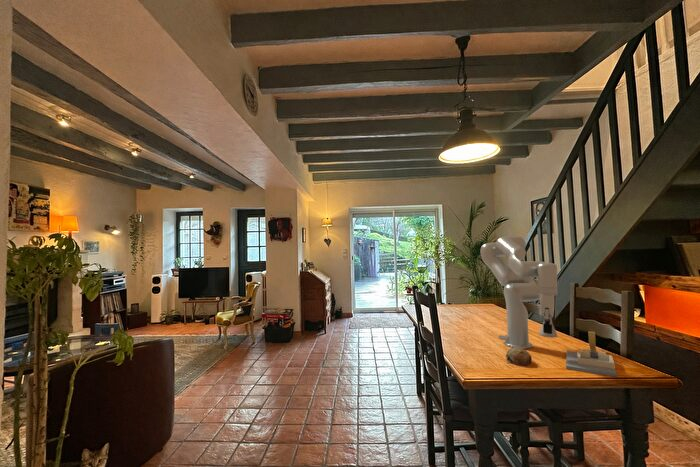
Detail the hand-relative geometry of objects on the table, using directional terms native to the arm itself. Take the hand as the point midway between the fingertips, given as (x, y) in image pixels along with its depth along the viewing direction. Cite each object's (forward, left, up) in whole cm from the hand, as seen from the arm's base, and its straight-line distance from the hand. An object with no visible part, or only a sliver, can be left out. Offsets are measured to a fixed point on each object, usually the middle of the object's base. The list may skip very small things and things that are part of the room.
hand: (548, 331), depth 141 cm
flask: (0, 0, -2) cm, 2 cm away
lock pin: (+16, +16, -11) cm, 25 cm away
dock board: (+14, +3, -12) cm, 19 cm away
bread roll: (-11, -10, -13) cm, 20 cm away
